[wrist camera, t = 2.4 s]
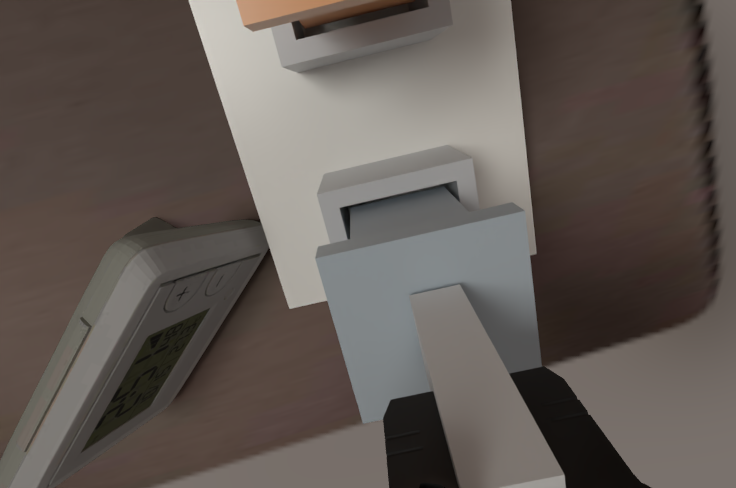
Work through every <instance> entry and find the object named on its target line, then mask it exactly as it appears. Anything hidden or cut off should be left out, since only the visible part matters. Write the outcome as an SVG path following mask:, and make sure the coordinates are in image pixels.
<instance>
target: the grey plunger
mask: <svg viewBox="0 0 736 488" xmlns="http://www.w3.org/2000/svg"><path fill="white" fill-rule="evenodd" d="M315 260H316V263H317V267H318V270H319V273H320V277H321V280H322V284H323V287H324V291H325V294H326V298H327V301H328V304H329V308H330V311H331V315H332V318H333V322H334V325H335V328H336V332H337V335H338V339H339V342H340V346H341V349H342V352H343V356H344V359H345V363H346V366H347V370H348V373H349V377H350V380H351V383H352V387H353V390H354V394H355V397H356V401H357V404H358V407H359V411H360V414H361V418H362V421H363V424H364V423H368V422H373V421H378V420H383V417H384V414H385V412H386V410H387V407H388V405H389V402H390V400H392V399H396V398H401V397H406V396H411V395H416V394H420V393H425V392H430V387H429V383H428V379H427V375H426V371H425V367H424V362H423V358H422V353H421V348H420V344H419V339H418V335H417V330H416V326H415V321H414V316H413V312H412V307H411V303H410V298H409V295H413V294H418V293H422V292H427V291H432V290H436V289H441V288H445V287H450V286H454V285H459V284H460V286H461V287H462V289H463V291H464V293H465V295H466V296H467V298H468V300H469V302H470V304H471V306H472V307H473V309H474V311H475V313H476V315H477V316H478V318H479V320H480V322H481V324H482V326H483V327H484V329H485V331H486V333H487V335H488V336H489V338H490V340H491V342H492V344H493V346H494V347H495V349H496V351H497V353H498V355H499V356H500V358H501V360H502V362H503V364H504V366H505V367H506V369H507V371H508V373H514V372H519V371H524V370H529V369H533V368H538V367H542V363H541V354H540V345H539V335H538V326H537V317H536V308H535V298H534V289H533V280H532V270H531V261H530V252H529V243H528V233H527V224H526V215H525V210H523V209H522V208H520V207H519V206H517V205H516V204H514V203H513V202H511V203H507V204H502V205H498V206H493V207H489V208H485V209H480V210H476V211H472V212H468V210H467V209H466V208H465V207H464V206H463V205H462V204H461V203H460V202H459V201H458V200H457V199H456V198H455V197H454V196H453V195H452V194H451V193H450V192H449V191H448V190H447V189H446V188H445V187H444V186H442V187H438V188H433V189H429V190H425V191H420V192H416V193H412V194H407V195H403V196H399V197H394V198H390V199H386V200H381V201H377V202H373V203H368V204H364V205H360V206H355V207H351V210H350V239H349V240H344V241H340V242H336V243H331V244H327V245H322V246H318V248H317V252H316V257H315Z"/></svg>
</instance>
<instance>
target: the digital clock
mask: <svg viewBox="0 0 736 488" xmlns="http://www.w3.org/2000/svg"><path fill="white" fill-rule="evenodd" d="M268 248H269V245H268V242H267V239H266V236H265V233H264V229H263V226H262V224H261V223H260V222H257V221H254V220H232V221H225V222H218V223H211V224H205V225H198V226H191V227H184V228H175V227H173V226H172V225H170V224H168V223H166V222H165V221H163V220H161V219H158V218H156V217H153V218H151V219H150V220H148V221H146V222H145V223H143V224H142V225H140V226H138V227H137V228H135V229H134V230H132V231H130V232H129V233H127V234H126V235H125V236H124V237H123V238H122V239H120V240H118V241H116V242H115V243H114V244H113V245H111V246H110V248H109V249H108V250H107V252H106V253H105V255H104V257H103V259H102V261H101V262H100V264H99V266H98V268H97V270H96V272H95V274H94V276H93V278H92V279H91V281H90V283H89V285H88V287H87V289H86V291H85V293H84V295H83V297H82V299H81V301H80V302H79V304H78V306H77V308H76V310H75V312H74V314H73V316H72V318H71V320H70V322H69V324H68V326H67V328H66V330H65V332H64V334H63V336H62V338H61V340H60V342H59V344H58V346H57V348H56V350H55V352H54V354H53V356H52V358H51V360H50V362H49V364H48V366H47V368H46V370H45V372H44V374H43V376H42V378H41V380H40V382H39V384H38V386H37V388H36V390H35V392H34V394H33V395H32V397H31V399H30V401H29V403H28V405H27V407H26V409H25V411H24V413H23V415H22V417H21V419H20V421H19V423H18V425H17V427H16V429H15V431H14V433H13V435H12V437H11V439H10V441H9V443H8V445H7V447H6V449H5V452H4V454H3V456H2V458H1V460H0V488H54V487H56V486H57V485H59V484H60V483H62V482H63V481H64V480H66V479H67V478H69V477H70V476H71V475H73V474H74V473H76V472H77V471H79V470H80V469H81V468H83V467H84V466H86V465H87V464H88V463H90V462H91V461H93V460H94V459H96V458H97V457H98V456H100V455H101V454H103V453H104V452H105V451H107V450H108V449H110V448H111V447H112V446H114V445H115V444H117V443H118V442H120V441H121V440H122V439H124V438H125V437H127V436H128V435H129V434H131V433H132V432H134V431H135V430H137V429H138V428H139V427H141V426H142V425H144V424H145V423H146V422H148V421H149V420H151V419H152V418H153V417H155V416H156V415H158V414H159V413H160V412H162V411H163V410H164V409H165V408H166V407H168V406H169V405H170V403H171V402H172V401H173V400H174V398H175V397H176V395H177V394H178V392H179V391H180V389H181V388H182V386H183V384H184V383H185V381H186V380H187V378H188V377H189V375H190V373H191V372H192V370H193V369H194V367H195V366H196V364H197V362H198V361H199V359H200V358H201V356H202V354H203V353H204V351H205V350H206V348H207V346H208V345H209V343H210V342H211V340H212V339H213V337H214V335H215V334H216V332H217V331H218V329H219V327H220V326H221V324H222V323H223V321H224V319H225V318H226V316H227V315H228V313H229V312H230V310H231V308H232V307H233V305H234V304H235V302H236V300H237V299H238V297H239V296H240V294H241V292H242V291H243V289H244V288H245V286H246V285H247V283H248V281H249V280H250V278H251V277H252V275H253V273H254V272H255V270H256V269H257V267H258V265H259V264H260V262H261V260H262V259H263V257H264V256H265V254H266V252H267V250H268Z"/></svg>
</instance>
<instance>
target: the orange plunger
mask: <svg viewBox="0 0 736 488" xmlns="http://www.w3.org/2000/svg"><path fill="white" fill-rule="evenodd" d="M414 1H415V0H236V2H237V5H238V9H239V12H240V16H241V19H242V22H243V26H245V27H246V28H248V29H249V30H251V31H253V32H254V31H258V30H262V29H266V28H270V27H274V26H278V25H282V24H286V23H290V22H294V21H298V20H299V21H300V23H301V24H302V25H303V27H304V28H305V29H306V28H310V27H314V26H318V25H322V24H326V23H330V22H334V21H338V20H342V19H346V18H350V17H354V16H358V15H362V14H366V13H370V12H374V11H378V10H382V9H386V8H390V7H394V6H398V5H402V4H406V3H410V2H414Z"/></svg>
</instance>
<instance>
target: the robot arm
mask: <svg viewBox="0 0 736 488" xmlns="http://www.w3.org/2000/svg"><path fill="white" fill-rule="evenodd" d="M409 298H410V303H411V307H412V312H413V316H414V321H415V326H416V330H417V335H418V339H419V344H420V348H421V353H422V358H423V362H424V367H425V371H426V375H427V379H428V383H429V387H430V392H425V393H420V394H416V395H411V396H406V397H401V398H396V399H392V400H390V402H389V405H388V407H387V410H386V412H385V414H384V417H383V422H384V433H385V443H386V454H387V467H388V478H389V488H651V487H649V486H647V485H645V484H643V483H641V482H640V481H639V480H638V479H637V477H636V476H635V475H633V473H632V472H631V470H630V469H629V467H628V466H627V465H626V463H625V462H624V461H623V459H622V458H621V456H620V455H619V454H618V452H617V451H616V450H615V448H614V447H613V446H612V444H611V443H610V441H609V440H608V439H607V437H606V436H605V435H604V433H603V432H602V430H601V429H600V428H599V426H598V425H597V424H596V422H595V421H594V420H593V418H592V417H591V415H588V412H587V410H586V409H585V407H584V406H583V405H582V403H581V402H580V400H578V399H577V397H576V395H575V394H574V392H573V391H572V390H571V388H570V387H569V386H568V384H567V383H566V381H565V380H564V379H563V378H562V377H560V376H558V375H557V374H555V373H554V372H552V371H551V370H549V369H547V368H546V367H544V366H543V367H538V368H533V369H529V370H524V371H519V372H514V373H508V371H507V369H506V367H505V366H504V364H503V362H502V360H501V358H500V356H499V355H498V353H497V351H496V349H495V347H494V346H493V344H492V342H491V340H490V338H489V336H488V335H487V333H486V331H485V329H484V327H483V326H482V324H481V322H480V320H479V318H478V316H477V315H476V313H475V311H474V309H473V307H472V306H471V304H470V302H469V300H468V298H467V296H466V295H465V293H464V291H463V289H462V287H461V286H460V284H459V285H454V286H450V287H445V288H441V289H436V290H432V291H427V292H422V293H418V294H413V295H409Z"/></svg>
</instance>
